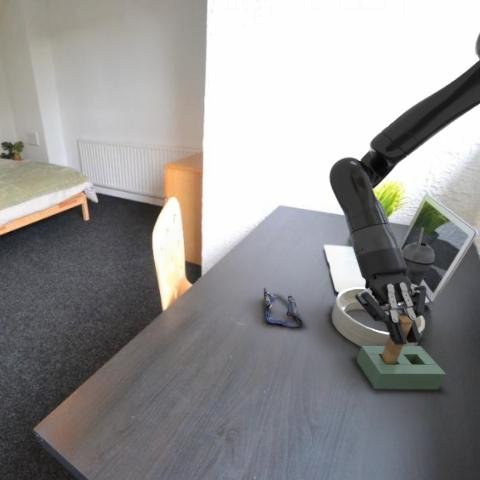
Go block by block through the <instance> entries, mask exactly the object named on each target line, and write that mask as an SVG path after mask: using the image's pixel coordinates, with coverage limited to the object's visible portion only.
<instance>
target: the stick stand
mask: <svg viewBox="0 0 480 480" xmlns="http://www.w3.org/2000/svg"><path fill="white" fill-rule="evenodd" d="M384 348H385V346H360V350H359V352H358V356H357V358H356V362H357V364H358V365H359V367H360V368H361V370H362V372H363V373H364V375H365V376H366V377H367V379H368V381H369V382H370V384H371V385H372V387H373V389H374V390H439V388H440V387H441V384H443V383H442V382H443V380H444V379H445V377H446V374H447V373H446V371H444V369H442V368H441V367H440V366H439V365H438V363H437V362H436V361H435V360H434V359H433V358H432V357H431V356H430V354H429V353H428V352H427V351H426V350H425V349H424V348H423V346H421V345H417V346H403V347H402V350H401V352H400V355H399V357H398V360H397V362H396V365H386V364H385V362H384V361H383V360H382V358H381V356H382V353H383V351H384Z"/></svg>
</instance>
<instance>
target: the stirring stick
mask: <svg viewBox="0 0 480 480" xmlns="http://www.w3.org/2000/svg"><path fill="white" fill-rule="evenodd" d="M398 319H399V321H398V323H401V326H402V329H403V332H404V335H405V338H407V335H408V333H409V330H410V328H411V326H412V323H413V322H412V321H411V320H410V319H409V317H408V316H398ZM403 345H404V344H402V345H396V344H395V343H394V342H393V341H392V340H391V338H390V335H389V338H388V340H387V343H386V346H385V348H384V351H383V353H382V356H381V358H382V360H383V361H384V362H385V364H386V365H396V362H397V360H398V357H399V355H400V352H401V350H402V347H403Z"/></svg>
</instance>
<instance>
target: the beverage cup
mask: <svg viewBox="0 0 480 480" xmlns="http://www.w3.org/2000/svg"><path fill="white" fill-rule="evenodd" d="M424 231H425V227H421V229H420V234H419V238H418V241H414V242H411V243H408V244H407V245H405V246H404V247H403V249H402V250H401V253H402V255H403V258H404V261H405V264H406V266H407V270H406V276H407V277H408V278H409V280H410V281H411V283H412V284H414V285H417V286H421V285H422V282H423V281H424V278H425V277H426V275H427V273H428V271H429V270H430V269H431V267H432V266H433V265H434V263H435V258H436V254H435V251H434V249H433V248H432V247H431V246H430V245H429V244H428V243H425V242H422V240H423V235H424Z"/></svg>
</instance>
